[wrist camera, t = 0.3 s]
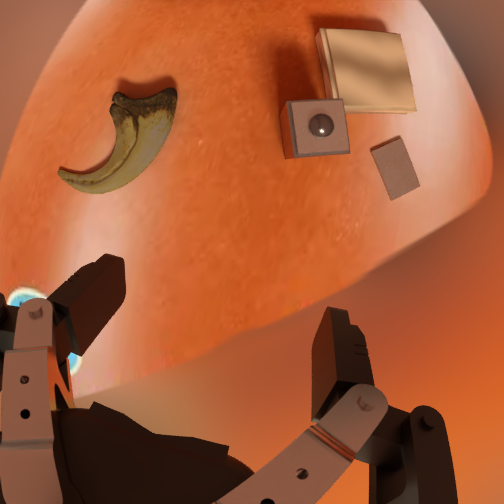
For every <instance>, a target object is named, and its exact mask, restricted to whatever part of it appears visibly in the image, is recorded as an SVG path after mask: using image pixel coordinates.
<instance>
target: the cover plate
mask: <svg viewBox="0 0 504 504" xmlns="http://www.w3.org/2000/svg"><path fill="white" fill-rule="evenodd" d="M371 154H372V156H373V159H374V161H375V163H376V166H377V168H378V170H379V173H380V175H381V178H382V180H383V183H384V185H385V188H386V190H387V193H388V195H389V198H390V200H391V201H392V200H394V199H396V198H398V197H400V196H402V195H404V194H406V193H408V192H410V191H412V190H414V189H416V188H418V187H419V186H420V184H419V181H418V178H417V175H416V173H415V170H414V167H413V165H412V162H411V160H410V157H409V154H408V152H407V149H406V147H405V145H404V142H403V140H402V138H399V139H397V140H395V141H393V142H391V143H388V144H386V145H384V146H382V147H379V148H377V149H375V150H373V151H371Z"/></svg>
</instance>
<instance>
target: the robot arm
mask: <svg viewBox="0 0 504 504" xmlns="http://www.w3.org/2000/svg"><path fill="white" fill-rule="evenodd" d="M125 295H126V282H125V264H124V259H123V258H121V257H118V256H114V255H110V254H104V255H102V256H101V257H100V258H99V259H98V260H97V261H96V262H92V263H89V264H87V265H85V266H83V267H81V268H80V269H79V270H78V271H76V272H75V273H74V275H72V276H71V277H70V278H69V279H68V281H65V282H64V283H63V284H62V285H61V286H60V287H59V288H58V289H56V290H55V291H54V292H53V293H52V294H51V295H50V296H49V297H48V298H47V299H43V298H34V299H30V300H28V301H26V302H25V303H23V304H22V305H21V306H20V307H17V306H10V305H7V303H6V300H5V297H4V295H3V294H2V293H0V391H1V390H2V408H1V411H2V414H1V415H2V431H1V432H0V504H315V503H316V502H317V501H318V500H319V499H320V498H321V497H322V496H323V495H324V494H325V493H326V492H327V491H328V490H329V489H330V488H331V486H332V485H333V484H334V483H335V482H336V481H337V480H338V479H339V477H340V476H341V475H342V474H343V473H344V472H345V470H346V469H347V468H348V467H349V465H350V464H351V463H352V462H353V460H354V459H356V460H359V461H362V462H365V463H368V464H369V504H458V498H457V490H456V483H455V475H454V469H453V462H452V456H451V452H450V446H449V441H448V436H447V431H446V427H445V422H444V420H443V417H442V416H441V414H440V413H439V412H438V411H437V410H435V409H434V408H432V407H429V406H424V405H422V406H418V407H416V408H414V410H413V411H412V412H411V413H408V412H405V411H402V410H400V409H397V408H394V407H391V406H390V405H388V402H387V399H386V397H385V395H384V394H383V393H382V392H381V391H380V390H379V389H378V388H376V387H375V386H374V380H373V374H372V369H371V364H370V359H369V357H368V350H367V348H366V346H367V345H366V341H365V336H364V334H363V333H362V332H361V330H360V329H359V328H358V326H356V325H351V324H350V320H349V316H348V311H347V310H343V309H338V308H333V307H327V308H326V310H325V313H324V315H323V318H322V320H321V323H320V325H319V328H318V330H317V333H316V335H315V338H314V341H313V345H312V415H311V416H312V417H311V421H312V422H318V423H317V424H316V425H314V426H310V427H309V428H308V429H307V430H305V431H304V432H303V433H302V434H301V435H300V436H299V437H298V438H297V439H295V440H294V441H293V442H292V443H291V444H290V445H289V446H288V447H286V448H285V449H284V450H283V451H282V452H281V453H280V454H278V455H277V456H276V457H275V458H274V459H272V460H271V461H270V462H269V463H268V464H266V465H265V466H264V467H263V468H261V469H260V470H259V471H257V472H256V473H254V472H253V471H252V470H251V469H250V468H249V467H248V466H246V465H245V464H243V463H242V462H241V461H239V460H237V459H236V458H234V457H232V456H230V455H227V454H228V450H229V446H226V445H222V444H218V443H214V442H210V441H206V440H202V439H198V438H194V437H183V436H171V435H161V434H155V433H152V432H150V431H149V430H147V429H146V428H144V427H142V426H141V425H139V424H138V423H136V422H135V421H133V420H132V419H130V418H129V417H128V416H126V415H125V414H123V413H120V412H118V411H115V410H113V409H111V408H108V407H106V406H104V405H101V404H99V403H97V402H93V404H92V405H91V407H90V409H85V408H76V406H75V403H74V398H73V392H72V384H71V376H70V366H69V359H68V356H69V354H70V353H71V352H72V353H74V354H76V355H78V356H81V357H82V355H83V354H84V353H85V351H86V350H87V349H88V347H89V346H90V345H91V343H92V342H93V341H94V339H95V338H96V337H97V336H98V334H99V333H100V332H101V330H102V329H103V328H104V326H105V325H106V324H107V323H108V321H109V320H110V319H111V318H112V316H113V315H114V314H115V312H116V311H117V310H118V309H119V307H120V306H121V305H122V303H123V301H124V299H125Z"/></svg>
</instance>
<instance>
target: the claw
mask: <svg viewBox="0 0 504 504" xmlns="http://www.w3.org/2000/svg"><path fill="white" fill-rule="evenodd" d="M112 101H113V102H114V103H113V104H112V105H111V107H110V111H109V112H110V114H111V116H112V118H113V121H114V125H115V128H116V132H117V137H116V145H115V148H114V151H113V154H112V156H111V158H110V160H109V161H108V162H107V163H106V164H105V165H104V166H103V167H101V168H100V169H98V170H96V171H95V172H92V173H88V174H83V175H80V174H74V173H71V172H66V171H64V170H59V171H58V174H59V176H60V177H61V178H62V179H63V180H64V181H65V182H66V183H68V184H69V185H71V186H72V187H73V188H75V189H77V190H79V191H81V192H85V193H91V194H103V193H106V192H110V191H113V190H116V189H118V188H120V187H122V186H124V185H126V184H127V183H129V182H130V181H132V180H133V179H134V178H136V177H137V176H138V175H139V174H140V173H142V172H143V171H144V169H145V168H147V166H148V165H149V164H150V163H151V162H152V161H153V159H154V158H155V157H156V155H157V154H158V152H159V151H160V149H161V147H162V146H163V144H164V142H165V140H166V138H167V136H168V134H169V132H170V129H171V126H172V122H173V118H174V114H175V109H176V102H177V91H176V90H175V89H174V88H172V87H171V88H167V89H165V90H163V91H161V92H159V93H157V94H155V95H153V96H150V97H147V98H141V99H130V98H128V97H127V96H126V95H125V94H122V93H121V92H115V94H114V95H113V98H112Z"/></svg>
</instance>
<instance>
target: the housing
mask: <svg viewBox="0 0 504 504" xmlns="http://www.w3.org/2000/svg"><path fill="white" fill-rule="evenodd" d="M279 118H280V125H281V132H282V140H283V147H284V155H285V159H293V158H303V157H315V156H328V155H339V154H350V145H349V137H348V129H347V122H346V115H345V109H344V102H343V98H335V99H311V100H296V101H286V103H285V105H284V107H283V109H282V111H281V113H280V115H279Z"/></svg>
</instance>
